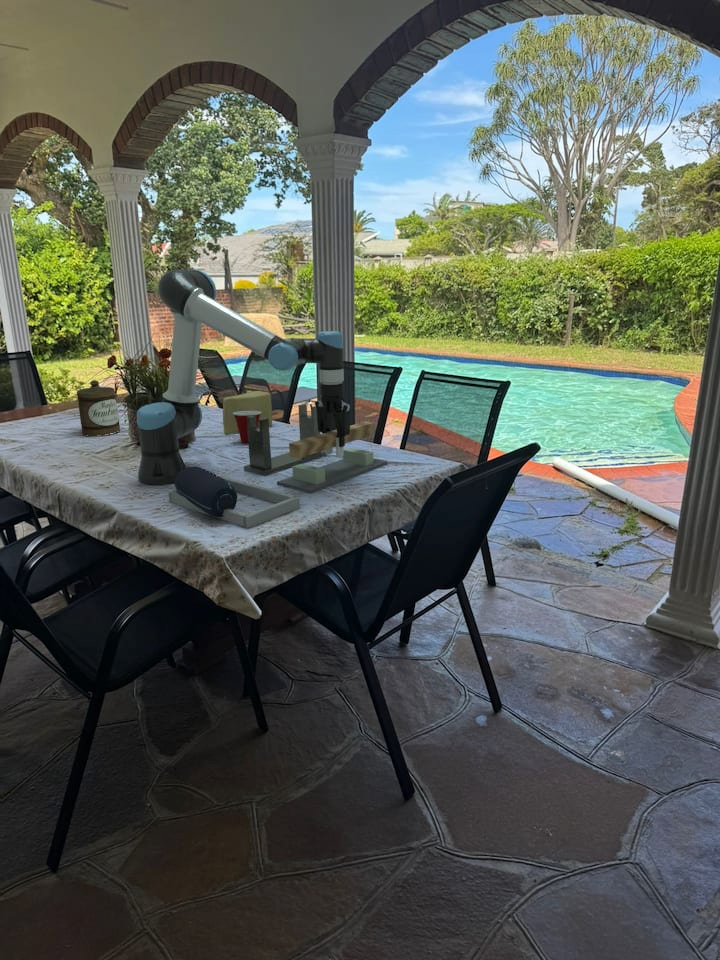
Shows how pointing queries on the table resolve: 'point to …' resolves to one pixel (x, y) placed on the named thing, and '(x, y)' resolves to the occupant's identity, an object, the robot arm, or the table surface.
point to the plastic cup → (245, 422)
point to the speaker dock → (248, 520)
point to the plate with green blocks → (331, 471)
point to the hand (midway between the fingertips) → (334, 455)
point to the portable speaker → (206, 490)
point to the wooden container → (98, 410)
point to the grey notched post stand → (261, 444)
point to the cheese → (246, 408)
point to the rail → (328, 440)
